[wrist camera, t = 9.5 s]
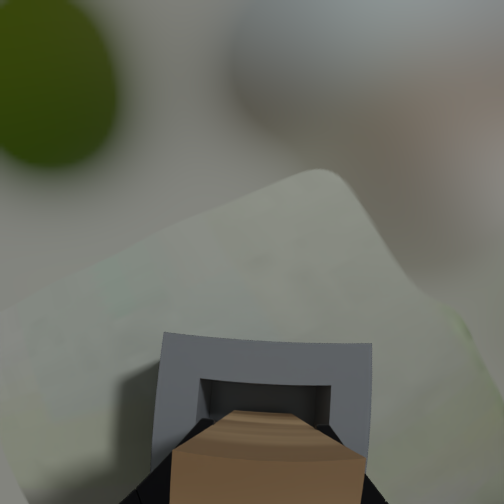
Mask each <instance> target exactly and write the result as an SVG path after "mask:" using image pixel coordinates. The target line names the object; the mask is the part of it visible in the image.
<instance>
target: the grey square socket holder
mask: <svg viewBox="0 0 504 504" xmlns="http://www.w3.org/2000/svg"><path fill="white" fill-rule="evenodd" d="M371 396H372V343H354V344H338V343H292V342H270V341H253V340H239V339H226V338H215V337H204V336H194V335H185V334H176V333H168V332H164V334H163V341H162V349H161V357H160V365H159V373H158V382H157V391H156V401H155V412H154V423H153V436H152V451H151V469H150V473H151V472H152V471H153V470H154V469H155V468H156V467H157V466H158V465H159V464H160V463H161V462H162V461H163V460H164V459H165V457H166V456H167V455H168V454H169V453H170V452H171V451H172V450H173V449H174V448H175V447H176V446H177V445H178V444H179V442H180V441H181V440H182V439H183V438H184V437H185V436H186V435H187V434H188V433H189V431H190V430H191V429H192V428H193V427H194V426H195V425H196V424H197V423H198V421H199V420H200V419H201V418H210V419H214V420H215V421H216V422H218V421H219V420H221V419H222V418H224V417H225V416H226V415H228V414H229V413H231V412H232V411H234V410H239V411H252V412H269V413H292V414H293V415H295V416H296V417H298V418H299V419H301V420H302V421H304V422H306V423H307V424H309V425H310V426H312V427H314V428H315V426H316V425H318V424H328V425H330V426H331V428H332V429H333V430H334V432H335V433H336V435H337V436H338V437H339V439H340V440H341V441H342V443H343V444H344V446H346V447H347V448H349V449H351V450H353V451H354V452H356V453H358V454H360V455H362V456H363V457H365V458H366V465H365V474H366V467H367V457H368V446H369V434H370V418H371Z"/></svg>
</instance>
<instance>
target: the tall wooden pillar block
mask: <svg viewBox="0 0 504 504" xmlns="http://www.w3.org/2000/svg"><path fill="white" fill-rule="evenodd" d="M365 465H366V458H365V457H363V456H362V455H360V454H358V453H356V452H354V451H353V450H351V449H349V448H347V447H346V446H344V445H342V444H340V443H339V442H337V441H335V440H333V439H332V438H330V437H328V436H327V435H325V434H323V433H322V432H320V431H318V430H316V429H314V427H312V426H310V425H309V424H307V423H306V422H304V421H302V420H301V419H299V418H298V417H296V416H295V415H293V414H292V413H269V412H252V411H239V410H234V411H232V412H231V413H229V414H228V415H226V416H225V417H224V418H222V419H221V420H219V421H218V422H216V424H214V425H212V426H210V427H209V428H207V429H205V430H204V431H202V432H201V433H199V434H198V435H196V436H195V437H193V438H191V439H190V440H188V441H187V442H185V443H183V444H182V445H180V446H178V447H177V448H175V449H173V450H172V465H171V483H170V504H360V503H361V496H362V489H363V482H364V474H365Z"/></svg>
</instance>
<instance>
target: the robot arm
mask: <svg viewBox="0 0 504 504" xmlns="http://www.w3.org/2000/svg"><path fill="white" fill-rule="evenodd" d="M214 424H216V421H215V420H214V419H210V418H201V419H200V420H199V421H198V423H197V424H196V425H195V426H194V427H193V428H192V429H191V430H190V431H189V433H188V434H187V435H186V436H185V437H184V438H183V439H182V440H181V441H180V442H179V444H178V445H177V446H176V447H175V448H177V447H178V446H180V445H182V444H183V443H185V442H187V441H188V440H190V439H191V438H193V437H195V436H196V435H198V434H199V433H201V432H202V431H204V430H205V429H207V428H209V427H210V426H212V425H214ZM314 429H316V430H318V431H320V432H322V433H323V434H325V435H327V436H328V437H330V438H332V439H333V440H335V441H337V442H339V443H340V444H342V445H344V444H343V443H342V441H341V440H340V439H339V437H338V436H337V435H336V433H335V432H334V430H333V429H332V428H331V426H330V425H328V424H318V425H316V426H315V428H314ZM175 448H174V449H175ZM171 465H172V451H171V452H170V453H169V454H168V455H167V456H166V457H165V459H164V460H163V461H162V462H161V463H160V464H159V465H158V466H157V467H156V468H155V469H154V470H153V471H152V472H151V473H150V474H149V475H148V476H147V477H146V478H145V479H144V480H143V481H142V482H141V483H140V484H139V485H138V486H137V487H136V489H134V490H133V491H132V492H131V493H130V494H129V495H128V496H127V497H126V498H125V499H124V500H123V501H122V502H120V503H119V504H170V483H171ZM360 504H388V502H385V499H384V497H383V496H382V495H381V494H380V492H379V491H378V490H377V488H376V487H375V486H374V484H373V483H372V482H371V480H370V479H369V478H368V476H367V475H366V474H364V482H363V489H362V496H361V503H360Z"/></svg>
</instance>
